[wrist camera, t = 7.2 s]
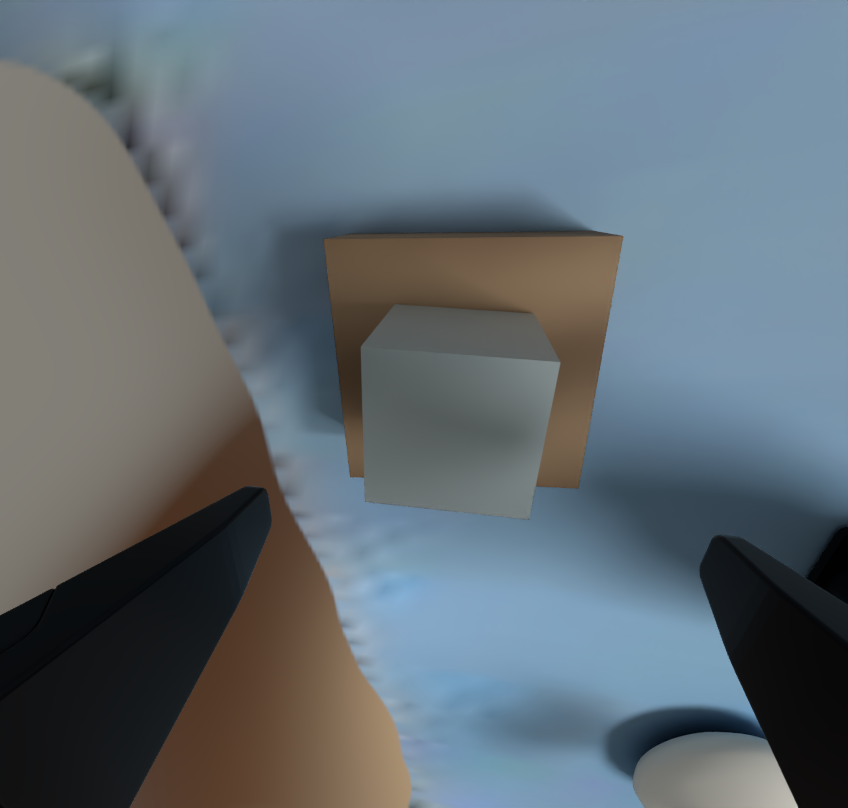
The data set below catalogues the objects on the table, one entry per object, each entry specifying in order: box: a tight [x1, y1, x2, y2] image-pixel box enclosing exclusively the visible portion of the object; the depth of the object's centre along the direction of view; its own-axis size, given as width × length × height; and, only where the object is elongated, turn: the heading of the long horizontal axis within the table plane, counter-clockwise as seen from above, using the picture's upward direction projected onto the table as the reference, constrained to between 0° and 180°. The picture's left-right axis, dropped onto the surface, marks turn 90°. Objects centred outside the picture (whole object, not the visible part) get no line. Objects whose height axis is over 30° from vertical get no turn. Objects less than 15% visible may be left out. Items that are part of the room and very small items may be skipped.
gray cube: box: [361, 304, 561, 520], centre depth 14 cm, size 5×5×5 cm
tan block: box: [324, 231, 623, 488], centre depth 18 cm, size 10×10×4 cm
